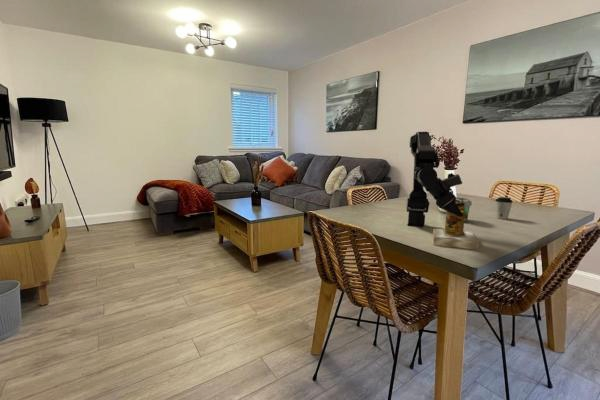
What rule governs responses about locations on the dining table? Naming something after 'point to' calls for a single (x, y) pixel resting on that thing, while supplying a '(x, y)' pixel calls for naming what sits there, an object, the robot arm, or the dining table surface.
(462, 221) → the condiment
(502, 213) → the coffee cup
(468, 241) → the picture frame
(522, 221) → the dining table surface
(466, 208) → the food container
